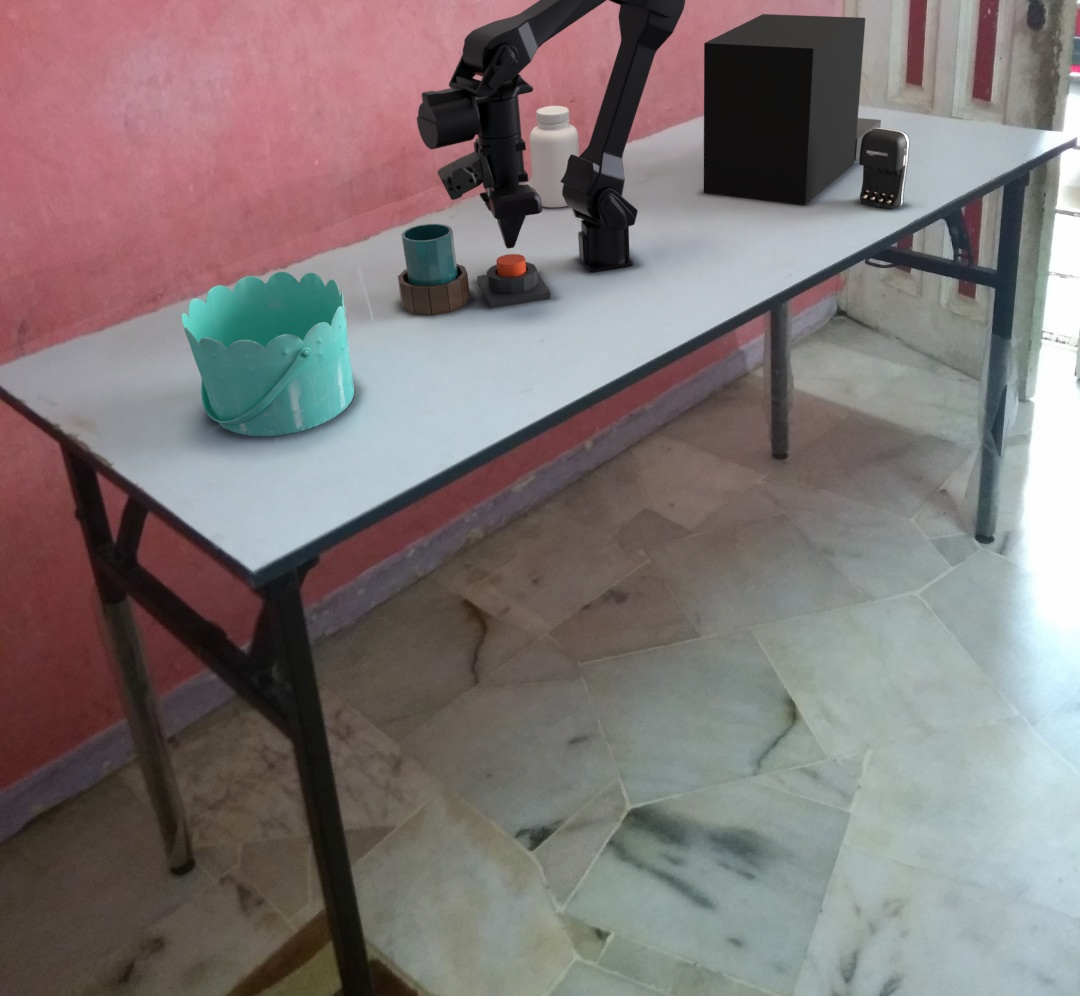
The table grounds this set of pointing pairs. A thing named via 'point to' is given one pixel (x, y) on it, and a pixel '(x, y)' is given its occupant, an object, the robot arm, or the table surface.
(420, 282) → the cup
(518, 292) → the button housing
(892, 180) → the battery charger
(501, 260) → the release button
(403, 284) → the stave barrel planter
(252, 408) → the basket
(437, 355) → the table surface
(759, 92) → the matte black box
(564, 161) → the pill bottle
